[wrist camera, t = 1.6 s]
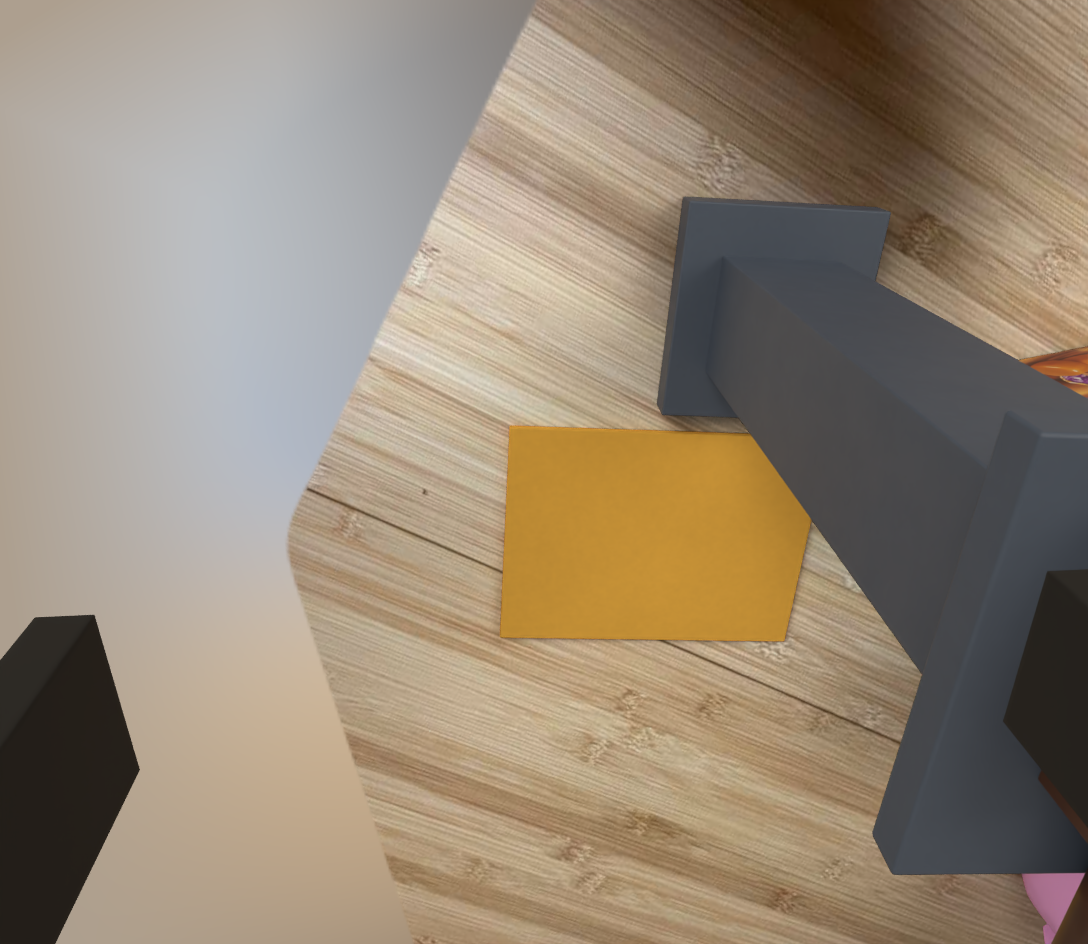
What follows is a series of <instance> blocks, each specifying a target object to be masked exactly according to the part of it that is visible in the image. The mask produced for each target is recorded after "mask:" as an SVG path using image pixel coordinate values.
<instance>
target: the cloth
mask: <svg viewBox="0 0 1088 944" xmlns="http://www.w3.org/2000/svg"><path fill="white" fill-rule="evenodd" d="M810 524H811V518H810V517H809V515H808V514H807V513H806V511H805V510H804V509H803V507H802V506H801V504H800V503H799V502H798V500H797V499H796V497H795V496H794V495H793V493H792V492H791V490H790V489H789V488H788V486H787V485H786V483H785V482H784V481H783V479H782V478H781V476H780V475H779V474H778V472H777V471H776V469H775V468H774V467H773V465H772V464H771V462H770V461H769V460H768V458H767V457H766V455H765V454H764V453H763V451H762V450H761V448H760V447H759V446H758V444H757V443H756V441H755V440H754V439H753V437H752V436H751V434H746V433H716V432H687V431H657V430H627V429H598V428H568V427H538V426H510V429H509V451H508V472H507V494H506V515H505V537H504V558H503V580H502V601H501V623H500V637H501V638H568V639H641V640H713V641H784V640H785V636H786V631H787V627H788V622H789V618H790V613H791V609H792V604H793V600H794V595H795V591H796V587H797V582H798V578H799V573H800V569H801V564H802V560H803V555H804V551H805V546H806V542H807V537H808V533H809V528H810Z"/></svg>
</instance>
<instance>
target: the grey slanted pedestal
mask: <svg viewBox="0 0 1088 944" xmlns="http://www.w3.org/2000/svg"><path fill="white" fill-rule="evenodd" d="M890 215H891V212H889V211H886V210H883V209H881V208H878V207H863V206H845V205H827V204H809V203H791V202H774V201H756V200H738V199H720V198H702V197H683V201H682V209H681V217H680V225H679V233H678V240H677V248H676V256H675V264H674V272H673V280H672V288H671V296H670V304H669V312H668V320H667V328H666V336H665V344H664V352H663V360H662V368H661V376H660V383H659V391H658V399H657V405H658V407H659V409H660V411H661V413H662V415H677V416H705V417H734V418H739V419H740V420H741V422H742V423H743V425H744V426H745V427H746V429H747V430H748V432H749V433H750V434H751V436H752V437H753V439H754V440H755V441H756V443H757V444H758V446H759V447H760V448H761V450H762V451H763V453H764V454H765V455H766V457H767V458H768V460H769V461H770V462H771V464H772V465H773V467H774V468H775V469H776V471H777V472H778V474H779V475H780V476H781V478H782V479H783V481H784V482H785V483H786V485H787V486H788V488H789V489H790V490H791V492H792V493H793V495H794V496H795V497H796V499H797V500H798V502H799V503H800V504H801V506H802V507H803V509H804V510H805V511H806V513H807V514H808V515H809V517H810V518H811V520H812V521H813V522H814V524H815V525H816V527H817V528H818V529H819V531H820V532H821V534H822V535H823V536H824V538H825V539H826V541H827V542H828V543H829V545H830V546H831V548H832V549H833V550H834V552H835V553H836V555H837V556H838V557H839V559H840V560H841V562H842V563H843V564H844V566H845V567H846V569H847V570H848V571H849V573H850V574H851V576H852V577H853V578H854V580H855V581H856V583H857V584H858V585H859V587H860V588H861V590H862V591H863V592H864V594H865V595H866V597H867V598H868V599H869V601H870V602H871V604H872V605H873V606H874V608H875V609H876V611H877V612H878V613H879V615H880V616H881V618H882V619H883V620H884V622H885V623H886V625H887V626H888V627H889V629H890V630H891V632H892V633H893V634H894V636H895V637H896V639H897V640H898V641H899V643H900V644H901V646H902V647H903V648H904V650H905V651H906V653H907V654H908V655H909V657H910V658H911V660H912V661H913V662H914V664H915V665H916V667H917V668H918V669H919V671H920V672H921V674H922V677H921V680H920V683H919V687H918V690H917V693H916V696H915V699H914V702H913V705H912V709H911V712H910V715H909V718H908V721H907V724H906V728H905V731H904V734H903V737H902V740H901V743H900V747H899V750H898V753H897V756H896V759H895V762H894V766H893V769H892V772H891V775H890V778H889V781H888V784H887V788H886V791H885V794H884V797H883V800H882V803H881V807H880V810H879V813H878V816H877V819H876V822H875V826H874V829H873V832H872V834H873V837H874V839H875V841H876V843H877V845H878V847H879V849H880V851H881V853H882V855H883V857H884V859H885V861H886V863H887V865H888V867H889V869H890V871H891V873H892V874H894V875H937V874H1050V873H1085V872H1086V870H1087V868H1088V844H1087V842H1086V841H1085V840H1084V838H1083V837H1082V836H1081V835H1080V833H1079V832H1078V831H1077V829H1076V828H1075V827H1074V826H1073V824H1072V823H1071V822H1070V820H1069V819H1068V818H1067V816H1066V815H1065V814H1064V813H1063V811H1062V810H1061V809H1060V807H1059V806H1058V805H1057V804H1056V802H1055V801H1054V800H1053V798H1052V797H1051V796H1050V794H1049V793H1048V792H1047V791H1046V789H1045V788H1044V787H1043V785H1042V784H1041V783H1040V782H1039V780H1038V777H1039V774H1040V772H1041V769H1040V767H1039V766H1038V765H1037V764H1036V762H1035V761H1034V760H1033V759H1032V757H1031V756H1030V755H1029V754H1028V752H1027V751H1026V750H1025V749H1024V747H1023V746H1022V745H1021V744H1020V742H1019V741H1018V740H1017V738H1016V737H1015V736H1014V735H1013V733H1012V732H1011V731H1010V730H1009V728H1008V727H1007V726H1006V725H1005V723H1004V722H1003V719H1004V716H1005V713H1006V709H1007V706H1008V702H1009V699H1010V696H1011V692H1012V689H1013V685H1014V682H1015V679H1016V675H1017V672H1018V668H1019V665H1020V662H1021V658H1022V655H1023V652H1024V648H1025V645H1026V641H1027V638H1028V635H1029V631H1030V628H1031V624H1032V621H1033V618H1034V614H1035V611H1036V607H1037V604H1038V601H1039V597H1040V594H1041V590H1042V587H1043V584H1044V580H1045V577H1046V573H1047V571H1060V570H1082V569H1088V398H1086V397H1084V396H1082V395H1080V394H1079V393H1077V392H1075V391H1073V390H1071V389H1070V388H1068V387H1066V386H1064V385H1062V384H1061V383H1059V382H1057V381H1055V380H1053V379H1051V378H1050V377H1048V376H1046V375H1044V374H1042V373H1041V372H1039V371H1037V370H1035V369H1033V368H1031V367H1030V366H1028V365H1026V364H1024V363H1022V362H1021V361H1019V360H1017V359H1015V358H1013V357H1012V356H1010V355H1008V354H1006V353H1004V352H1002V351H1001V350H999V349H997V348H995V347H993V346H992V345H990V344H988V343H986V342H984V341H982V340H981V339H979V338H977V337H975V336H973V335H972V334H970V333H968V332H966V331H964V330H962V329H961V328H959V327H957V326H955V325H953V324H952V323H950V322H948V321H946V320H944V319H943V318H941V317H939V316H937V315H935V314H933V313H932V312H930V311H928V310H926V309H924V308H923V307H921V306H919V305H917V304H915V303H913V302H912V301H910V300H908V299H906V298H904V297H903V296H901V295H899V294H897V293H895V292H894V291H892V290H890V289H888V288H886V287H884V286H883V285H881V284H879V283H877V282H875V280H876V276H877V272H878V267H879V263H880V258H881V254H882V250H883V245H884V241H885V237H886V232H887V228H888V224H889V219H890Z"/></svg>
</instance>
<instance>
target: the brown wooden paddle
mask: <svg viewBox="0 0 1088 944" xmlns="http://www.w3.org/2000/svg"><path fill="white" fill-rule="evenodd" d="M1038 780H1039V782H1040V783H1041V784H1042V785H1043V787H1044V788H1045V789H1046V791H1047V792H1048V793H1049V794H1050V796H1051V797H1052V798H1053V800H1054V801H1055V802H1056V804H1057V805H1058V806H1059V807H1060V809H1061V810H1062V811H1063V813H1064V814H1065V815H1066V816H1067V818H1068V819H1069V820H1070V822H1071V823H1072V824H1073V826H1074V827H1075V828H1076V829H1077V831H1078V832H1079V833H1080V835H1081V836H1082V837H1083V838H1084V840H1085V841H1086V842H1087V844H1088V828H1087V827H1086V825H1085V824H1084V823H1083V821H1082V820H1081V819H1080V818H1079V816H1078V815H1077V814H1076V813H1075V811H1074V810H1073V809H1072V808H1071V806H1070V805H1069V804H1068V803H1067V801H1066V800H1065V799H1064V798H1063V796H1062V795H1061V794H1060V793H1059V791H1058V790H1057V789H1056V788H1055V786H1054V785H1053V784H1052V782H1051V781H1050V780H1049V779H1048V777H1047V776H1046V775H1045V774H1044V772H1043V771H1042V770H1041V772H1040V774H1039V777H1038ZM1051 944H1088V868H1087V870H1086V872H1085V874H1084V876H1083V879H1082V881H1081V883H1080V885H1079V887H1078V889H1077V891H1076V893H1075V895H1074V897H1073V899H1072V901H1071V904H1070V906H1069V908H1068V910H1067V912H1066V914H1065V916H1064V918H1063V920H1062V922H1061V924H1060V926H1059V928H1058V931H1057V933H1056V935H1055V937H1054V939H1053V941H1052V943H1051Z"/></svg>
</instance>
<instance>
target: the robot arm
mask: <svg viewBox="0 0 1088 944" xmlns="http://www.w3.org/2000/svg"><path fill="white" fill-rule="evenodd" d="M1003 722H1004V723H1005V725H1006V726H1007V727H1008V728H1009V730H1010V731H1011V732H1012V733H1013V735H1014V736H1015V737H1016V738H1017V740H1018V741H1019V742H1020V744H1021V745H1022V746H1023V747H1024V749H1025V750H1026V751H1027V752H1028V754H1029V755H1030V756H1031V757H1032V759H1033V760H1034V761H1035V762H1036V764H1037V765H1038V766H1039V767H1040V769H1041V770H1042V771H1043V772H1044V774H1045V775H1046V776H1047V777H1048V779H1049V780H1050V781H1051V782H1052V784H1053V785H1054V786H1055V788H1056V789H1057V790H1058V791H1059V793H1060V794H1061V795H1062V796H1063V798H1064V799H1065V800H1066V801H1067V803H1068V804H1069V805H1070V806H1071V808H1072V809H1073V810H1074V811H1075V813H1076V814H1077V815H1078V816H1079V818H1080V819H1081V820H1082V821H1083V823H1084V824H1085V825H1086V827H1087V828H1088V569H1082V570H1060V571H1047V573H1046V577H1045V580H1044V584H1043V587H1042V590H1041V594H1040V597H1039V601H1038V604H1037V607H1036V611H1035V614H1034V618H1033V621H1032V624H1031V628H1030V631H1029V635H1028V638H1027V641H1026V645H1025V648H1024V652H1023V655H1022V658H1021V662H1020V665H1019V668H1018V672H1017V675H1016V679H1015V682H1014V685H1013V689H1012V692H1011V696H1010V699H1009V702H1008V706H1007V709H1006V713H1005V716H1004V719H1003ZM139 770H140V769H139V766H138V762H137V759H136V755H135V752H134V749H133V745H132V742H131V738H130V735H129V732H128V728H127V725H126V721H125V718H124V715H123V711H122V708H121V704H120V701H119V698H118V694H117V691H116V687H115V684H114V680H113V677H112V673H111V670H110V667H109V663H108V660H107V656H106V653H105V650H104V646H103V643H102V639H101V636H100V633H99V629H98V626H97V622H96V619H95V616H94V615H81V616H59V617H36V618H34V619H33V620H32V622H31V623H30V624H29V625H28V627H27V628H26V629H25V630H24V632H23V633H22V634H21V635H20V637H19V638H18V639H17V640H16V642H15V643H14V644H13V645H12V646H11V648H10V649H9V650H8V651H7V653H6V654H5V655H4V656H3V658H2V659H1V660H0V944H55V943H56V941H57V939H58V937H59V935H60V933H61V931H62V928H63V927H64V924H65V922H66V920H67V918H68V916H69V914H70V912H71V910H72V908H73V906H74V904H75V902H76V900H77V898H78V896H79V894H80V891H81V890H82V887H83V885H84V883H85V881H86V879H87V877H88V875H89V873H90V871H91V869H92V867H93V865H94V863H95V861H96V859H97V857H98V854H99V852H100V850H101V848H102V846H103V844H104V842H105V840H106V838H107V836H108V834H109V832H110V830H111V828H112V826H113V824H114V821H115V819H116V817H117V815H118V813H119V811H120V809H121V807H122V805H123V803H124V801H125V799H126V797H127V795H128V793H129V791H130V789H131V787H132V784H133V783H134V780H135V778H136V776H137V774H138V772H139Z"/></svg>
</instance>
